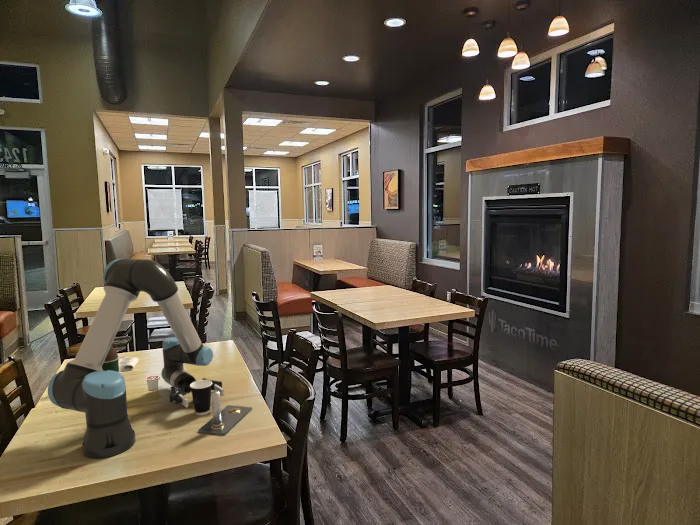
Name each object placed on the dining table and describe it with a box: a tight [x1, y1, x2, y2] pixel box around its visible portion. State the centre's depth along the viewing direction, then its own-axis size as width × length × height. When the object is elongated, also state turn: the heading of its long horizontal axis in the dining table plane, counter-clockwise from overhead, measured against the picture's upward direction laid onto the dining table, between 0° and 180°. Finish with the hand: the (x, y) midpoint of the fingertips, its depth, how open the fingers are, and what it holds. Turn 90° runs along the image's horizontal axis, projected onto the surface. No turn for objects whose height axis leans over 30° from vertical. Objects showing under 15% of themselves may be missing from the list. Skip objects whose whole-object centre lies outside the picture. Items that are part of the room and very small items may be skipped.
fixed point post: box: [211, 390, 223, 428], centre depth 156 cm, size 4×4×12 cm
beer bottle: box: [102, 343, 120, 373], centre depth 199 cm, size 8×8×24 cm
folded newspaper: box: [118, 355, 140, 373], centre depth 220 cm, size 3×18×15 cm
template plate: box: [197, 404, 253, 436], centre depth 163 cm, size 20×10×1 cm, turn 166°
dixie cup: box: [190, 379, 212, 416], centre depth 169 cm, size 8×8×11 cm
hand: (205, 398), depth 167 cm, fingers open, 13 cm apart
